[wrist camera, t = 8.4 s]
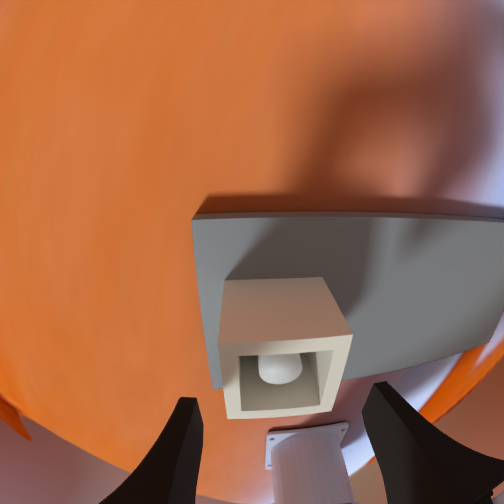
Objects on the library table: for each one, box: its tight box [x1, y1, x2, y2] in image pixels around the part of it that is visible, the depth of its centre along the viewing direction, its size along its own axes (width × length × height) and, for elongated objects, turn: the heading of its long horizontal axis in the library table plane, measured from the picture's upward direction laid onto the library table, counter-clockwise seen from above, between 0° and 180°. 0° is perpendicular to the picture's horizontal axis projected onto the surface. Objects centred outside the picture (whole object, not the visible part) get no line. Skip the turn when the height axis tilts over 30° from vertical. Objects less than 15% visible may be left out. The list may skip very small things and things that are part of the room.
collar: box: [218, 277, 353, 419], centre depth 13 cm, size 5×5×5 cm
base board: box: [191, 211, 504, 389], centre depth 15 cm, size 12×26×5 cm, turn 91°
